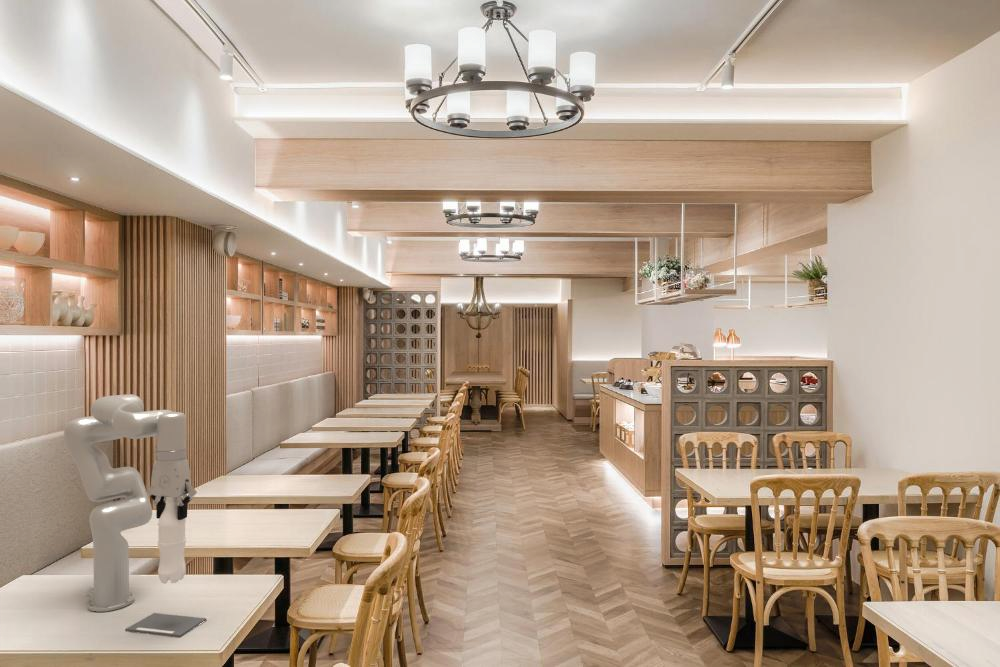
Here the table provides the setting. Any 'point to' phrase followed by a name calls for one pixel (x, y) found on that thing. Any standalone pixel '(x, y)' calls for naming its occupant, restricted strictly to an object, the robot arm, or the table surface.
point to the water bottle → (171, 543)
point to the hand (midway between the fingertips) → (171, 517)
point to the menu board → (165, 625)
